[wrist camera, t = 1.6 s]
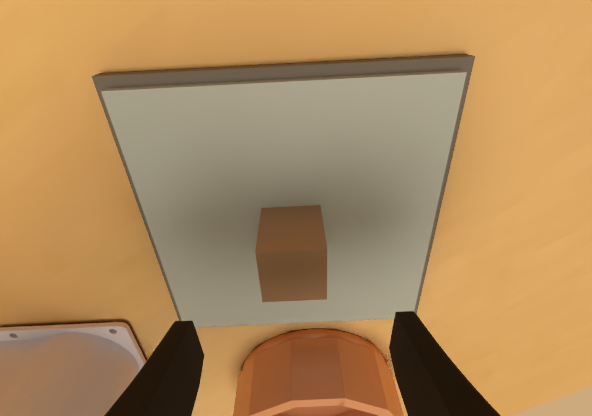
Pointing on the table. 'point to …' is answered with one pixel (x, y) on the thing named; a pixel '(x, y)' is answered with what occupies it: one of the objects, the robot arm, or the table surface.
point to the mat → (289, 72)
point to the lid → (290, 191)
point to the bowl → (316, 377)
